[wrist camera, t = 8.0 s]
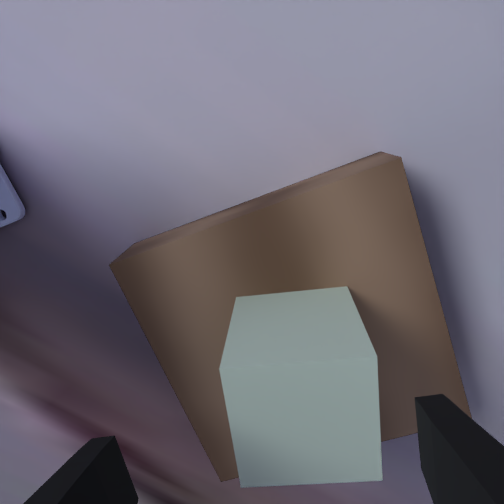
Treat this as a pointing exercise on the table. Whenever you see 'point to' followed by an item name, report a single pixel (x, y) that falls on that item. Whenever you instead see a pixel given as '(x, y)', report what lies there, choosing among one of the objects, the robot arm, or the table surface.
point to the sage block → (301, 390)
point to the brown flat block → (296, 289)
